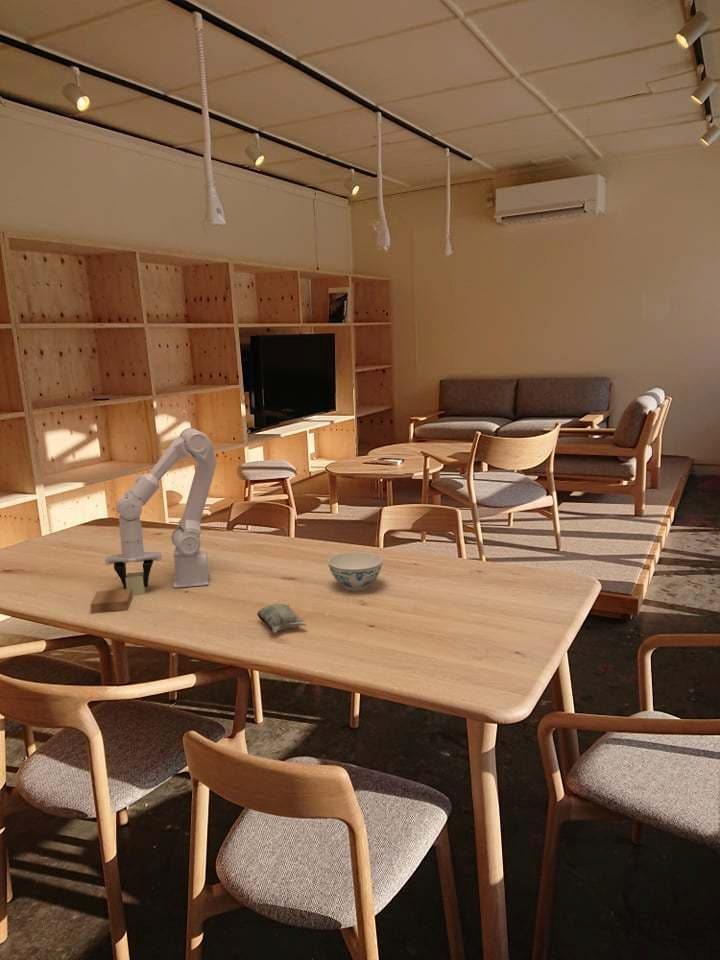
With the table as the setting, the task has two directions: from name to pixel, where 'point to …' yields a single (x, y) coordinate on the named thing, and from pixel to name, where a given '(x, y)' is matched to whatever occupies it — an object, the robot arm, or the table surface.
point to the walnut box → (111, 601)
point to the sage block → (135, 583)
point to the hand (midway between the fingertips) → (136, 587)
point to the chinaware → (355, 569)
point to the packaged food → (280, 618)
